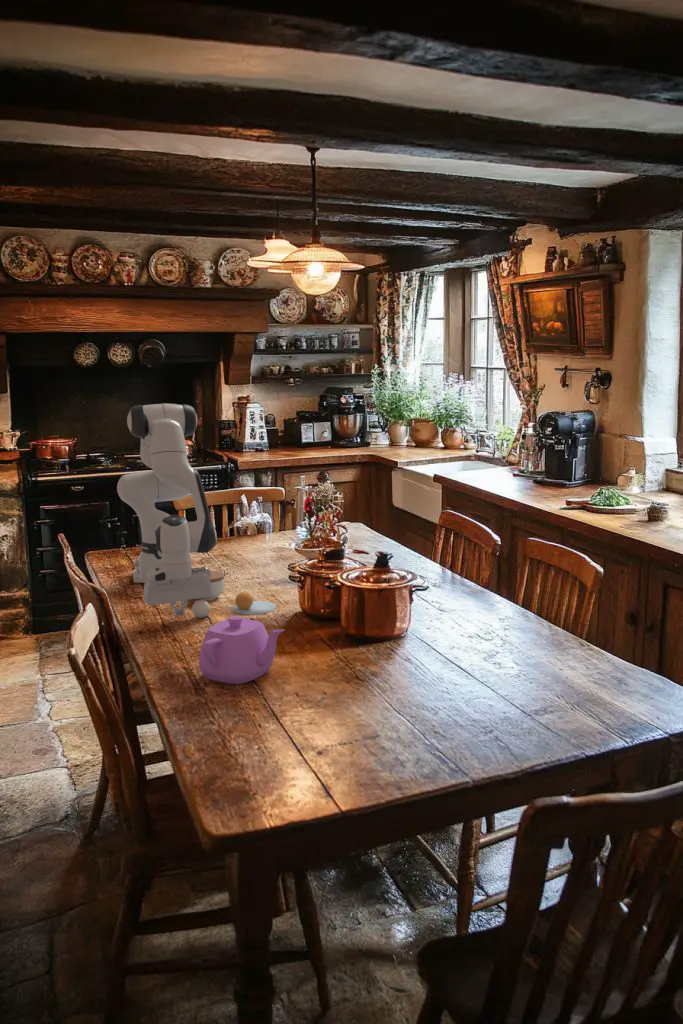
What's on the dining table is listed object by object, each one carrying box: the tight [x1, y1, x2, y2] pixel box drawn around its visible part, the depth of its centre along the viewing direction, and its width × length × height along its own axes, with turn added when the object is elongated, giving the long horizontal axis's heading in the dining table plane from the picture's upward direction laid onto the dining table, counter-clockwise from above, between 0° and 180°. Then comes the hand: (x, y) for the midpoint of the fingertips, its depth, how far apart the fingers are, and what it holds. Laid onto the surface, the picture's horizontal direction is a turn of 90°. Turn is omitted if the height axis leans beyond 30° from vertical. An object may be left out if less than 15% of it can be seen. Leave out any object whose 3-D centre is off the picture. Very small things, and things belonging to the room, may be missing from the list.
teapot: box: [198, 615, 286, 685], centre depth 211 cm, size 23×21×15 cm
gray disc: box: [231, 600, 277, 616], centre depth 271 cm, size 14×14×1 cm
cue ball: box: [191, 599, 211, 619], centre depth 261 cm, size 6×6×6 cm
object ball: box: [234, 591, 254, 610], centre depth 269 cm, size 6×6×6 cm
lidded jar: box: [199, 570, 225, 601], centre depth 282 cm, size 11×11×9 cm
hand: (179, 614), depth 260 cm, fingers closed
